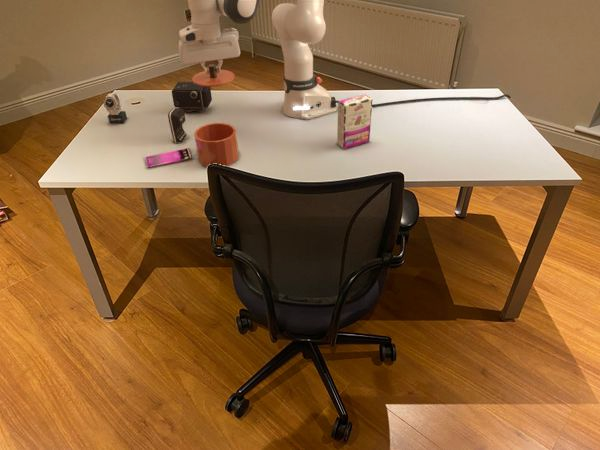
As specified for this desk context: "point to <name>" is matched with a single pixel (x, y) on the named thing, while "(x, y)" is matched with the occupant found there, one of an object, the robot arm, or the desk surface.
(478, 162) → the desk surface
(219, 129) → the pot
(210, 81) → the lid
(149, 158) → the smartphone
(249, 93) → the desk surface
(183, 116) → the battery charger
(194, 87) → the camera
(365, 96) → the candy bar box
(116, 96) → the watch
